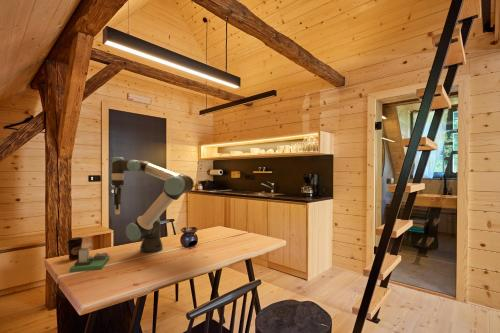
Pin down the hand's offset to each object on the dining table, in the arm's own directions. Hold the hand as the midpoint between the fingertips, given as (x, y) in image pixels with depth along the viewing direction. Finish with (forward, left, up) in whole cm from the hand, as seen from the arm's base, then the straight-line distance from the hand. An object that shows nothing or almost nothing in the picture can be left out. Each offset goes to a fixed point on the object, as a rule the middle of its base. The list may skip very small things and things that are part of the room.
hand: (117, 214), depth 183 cm
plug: (+13, +24, -24) cm, 37 cm away
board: (+10, +22, -26) cm, 36 cm away
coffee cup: (+23, +7, -27) cm, 36 cm away
